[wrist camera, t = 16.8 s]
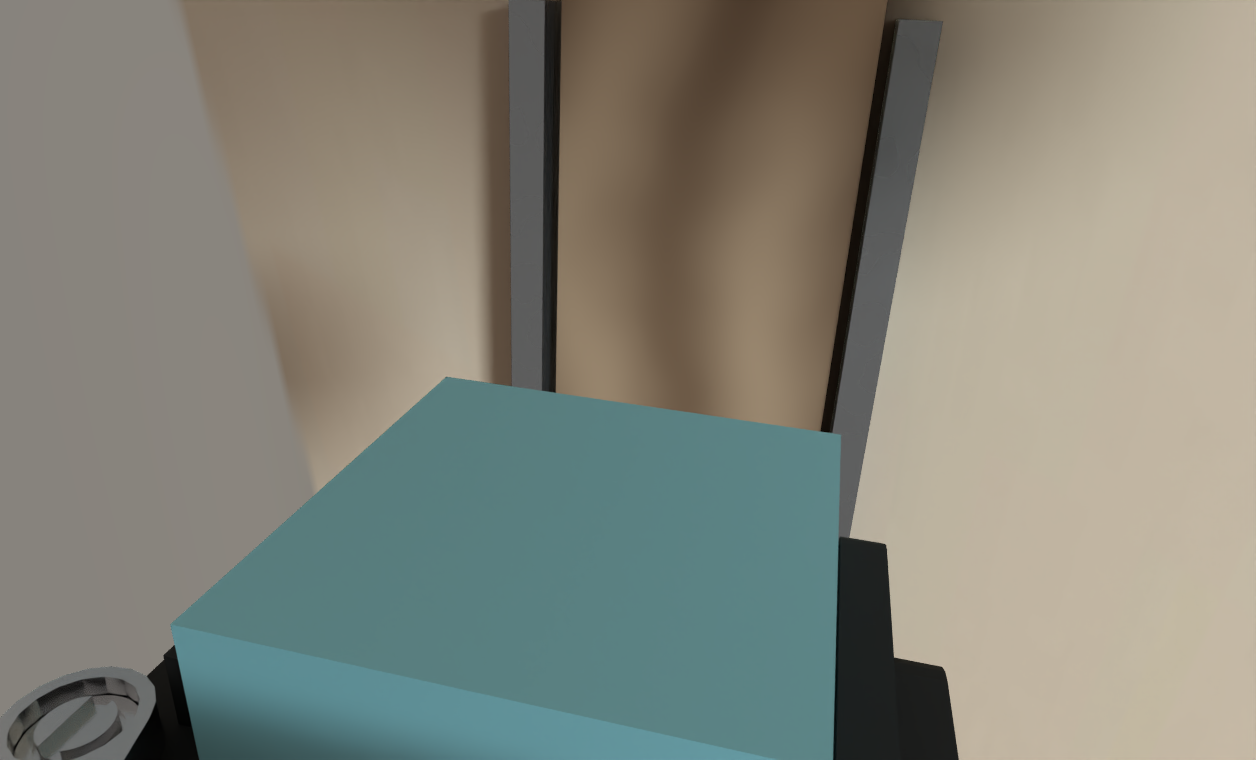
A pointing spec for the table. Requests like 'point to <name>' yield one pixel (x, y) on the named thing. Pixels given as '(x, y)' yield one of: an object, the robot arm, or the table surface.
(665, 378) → the tan track base
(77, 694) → the robot arm
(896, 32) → the guide rails
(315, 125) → the table surface
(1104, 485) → the table surface
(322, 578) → the teal block
